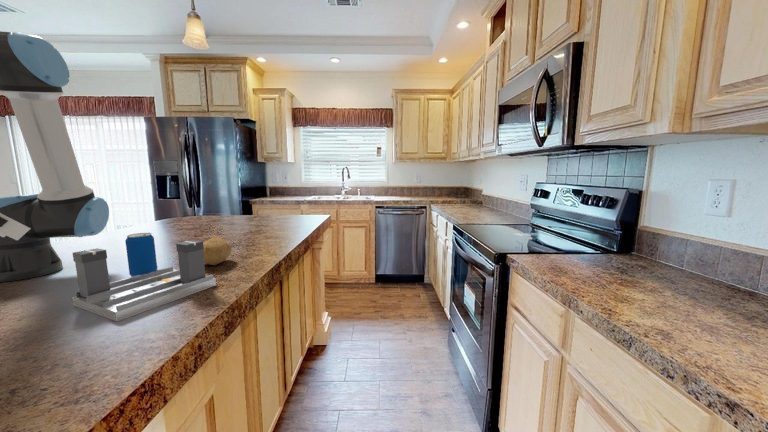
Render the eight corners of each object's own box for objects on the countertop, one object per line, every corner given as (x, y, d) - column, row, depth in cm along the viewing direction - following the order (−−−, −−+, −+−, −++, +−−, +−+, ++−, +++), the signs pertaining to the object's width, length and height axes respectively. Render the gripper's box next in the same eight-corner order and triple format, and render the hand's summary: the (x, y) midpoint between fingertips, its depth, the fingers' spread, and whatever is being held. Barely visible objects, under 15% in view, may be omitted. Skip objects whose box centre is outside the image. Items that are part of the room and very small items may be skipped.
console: (73, 305, 69) (71, 292, 69) (173, 275, 89) (172, 265, 89) (116, 321, 62) (115, 307, 62) (216, 285, 82) (215, 274, 81)
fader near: (78, 295, 69) (72, 252, 68) (102, 289, 73) (97, 247, 72) (87, 298, 68) (81, 254, 66) (111, 291, 72) (106, 249, 70)
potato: (191, 271, 93) (188, 246, 92) (204, 259, 106) (202, 236, 105) (226, 269, 96) (224, 243, 94) (234, 257, 109) (233, 235, 108)
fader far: (179, 282, 78) (176, 243, 76) (196, 276, 82) (193, 239, 80) (189, 284, 76) (186, 244, 75) (206, 278, 80) (203, 241, 79)
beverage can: (163, 271, 93) (158, 232, 91) (144, 278, 87) (139, 237, 85) (143, 270, 94) (139, 232, 92) (123, 278, 87) (118, 236, 86)
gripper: (-227, 156, 44) (-21, 244, 61) (-214, 153, 36) (18, 255, 53) (-162, 123, 48) (14, 214, 65) (-137, 114, 40) (56, 220, 57)
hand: (16, 232), depth 59 cm, fingers open, 6 cm apart
